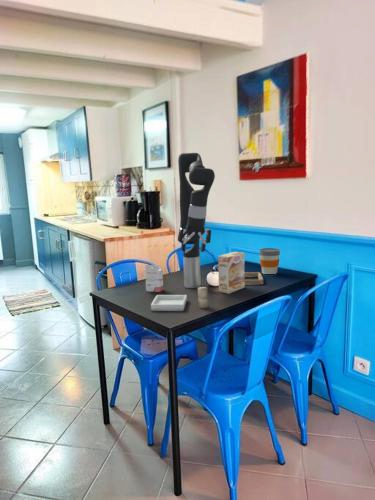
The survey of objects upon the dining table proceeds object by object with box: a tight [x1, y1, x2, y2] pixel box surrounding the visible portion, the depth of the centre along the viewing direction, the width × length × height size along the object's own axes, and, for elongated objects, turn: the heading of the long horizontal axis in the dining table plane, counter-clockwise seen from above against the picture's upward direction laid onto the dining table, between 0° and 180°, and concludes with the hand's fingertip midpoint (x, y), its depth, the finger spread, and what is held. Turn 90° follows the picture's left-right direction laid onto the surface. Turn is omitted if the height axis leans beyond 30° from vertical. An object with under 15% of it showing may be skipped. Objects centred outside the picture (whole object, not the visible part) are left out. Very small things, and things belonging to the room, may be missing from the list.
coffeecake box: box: [217, 251, 246, 295], centre depth 200 cm, size 15×7×20 cm, turn 137°
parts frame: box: [245, 271, 264, 286], centre depth 219 cm, size 19×19×2 cm
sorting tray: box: [150, 294, 188, 312], centre depth 178 cm, size 15×15×3 cm
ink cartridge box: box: [144, 264, 164, 293], centre depth 204 cm, size 9×5×15 cm, turn 70°
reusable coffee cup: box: [258, 247, 281, 275], centre depth 233 cm, size 12×13×15 cm
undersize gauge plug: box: [197, 286, 209, 309], centre depth 174 cm, size 4×4×9 cm
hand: (192, 251), depth 164 cm, fingers open, 8 cm apart
